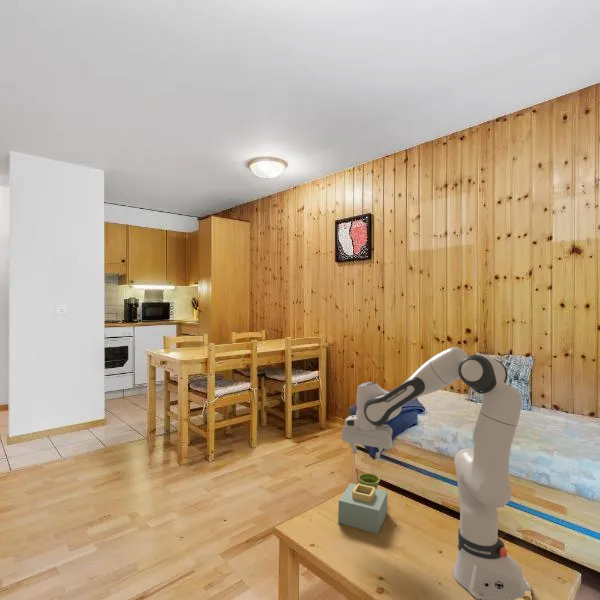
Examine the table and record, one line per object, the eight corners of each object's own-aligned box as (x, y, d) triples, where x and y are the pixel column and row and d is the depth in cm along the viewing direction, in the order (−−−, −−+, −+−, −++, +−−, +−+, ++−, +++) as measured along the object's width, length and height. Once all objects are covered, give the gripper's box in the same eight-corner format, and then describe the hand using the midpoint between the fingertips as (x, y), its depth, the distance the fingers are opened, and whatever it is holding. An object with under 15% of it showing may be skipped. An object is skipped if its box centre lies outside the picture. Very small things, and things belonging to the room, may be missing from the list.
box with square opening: (386, 512, 162) (387, 485, 162) (378, 534, 147) (379, 504, 147) (349, 503, 168) (350, 477, 168) (338, 522, 154) (338, 494, 154)
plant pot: (374, 505, 168) (375, 485, 167) (354, 498, 173) (355, 479, 173) (382, 496, 175) (383, 476, 175) (363, 489, 181) (363, 471, 180)
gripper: (394, 423, 156) (393, 457, 157) (345, 416, 165) (344, 448, 165) (391, 428, 151) (390, 463, 151) (340, 420, 159) (340, 453, 159)
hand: (366, 455), depth 158 cm, fingers open, 8 cm apart
